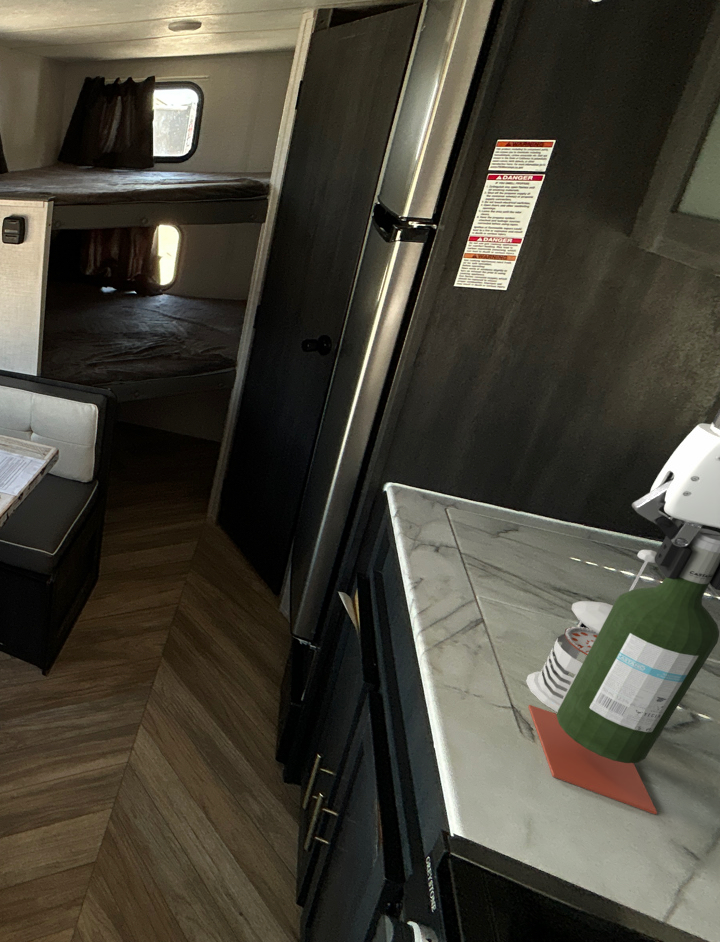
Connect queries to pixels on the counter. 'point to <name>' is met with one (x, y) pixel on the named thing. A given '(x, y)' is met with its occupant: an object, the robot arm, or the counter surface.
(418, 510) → the counter surface
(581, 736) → the wine bottle
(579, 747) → the napkin
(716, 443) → the robot arm
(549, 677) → the french press
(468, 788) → the counter surface
